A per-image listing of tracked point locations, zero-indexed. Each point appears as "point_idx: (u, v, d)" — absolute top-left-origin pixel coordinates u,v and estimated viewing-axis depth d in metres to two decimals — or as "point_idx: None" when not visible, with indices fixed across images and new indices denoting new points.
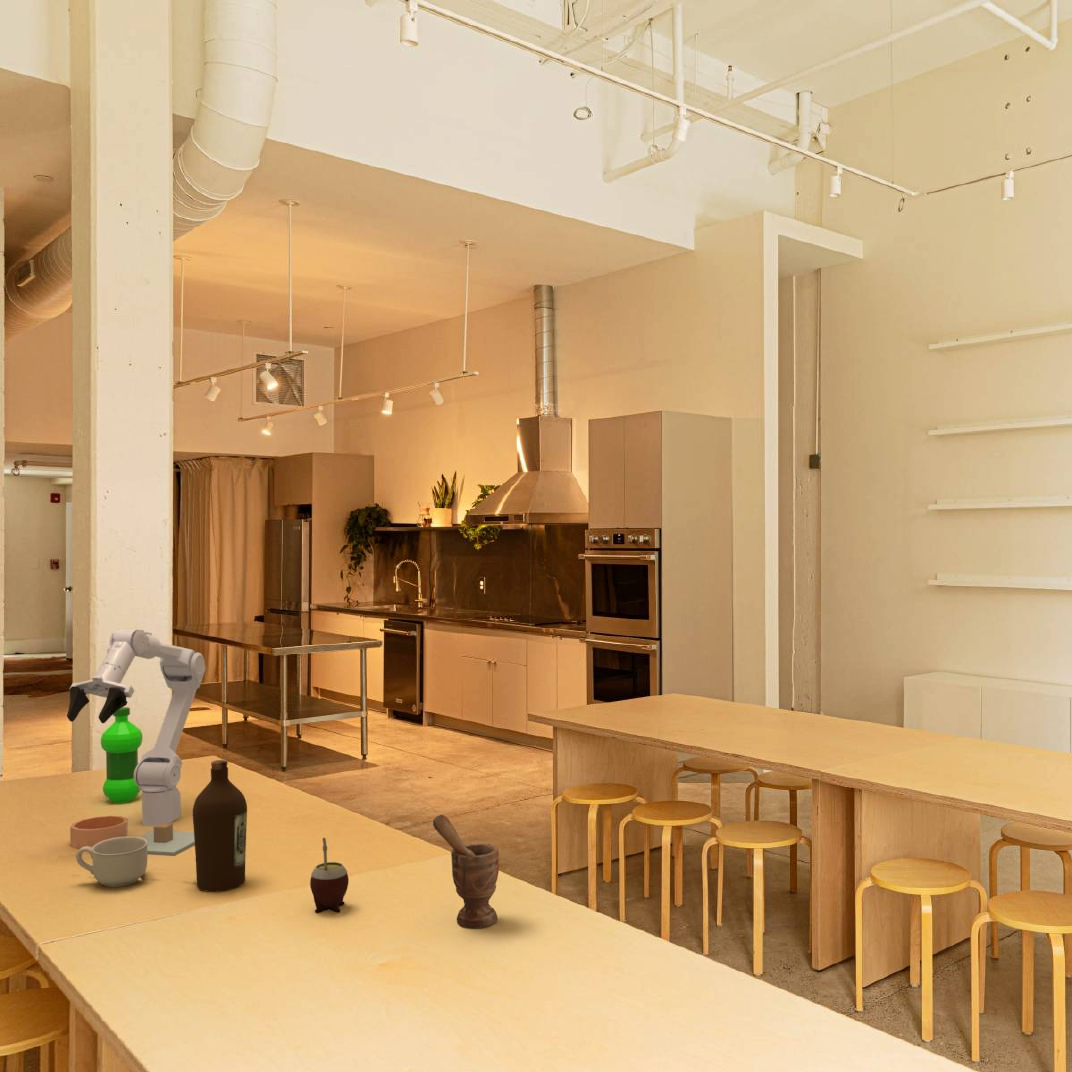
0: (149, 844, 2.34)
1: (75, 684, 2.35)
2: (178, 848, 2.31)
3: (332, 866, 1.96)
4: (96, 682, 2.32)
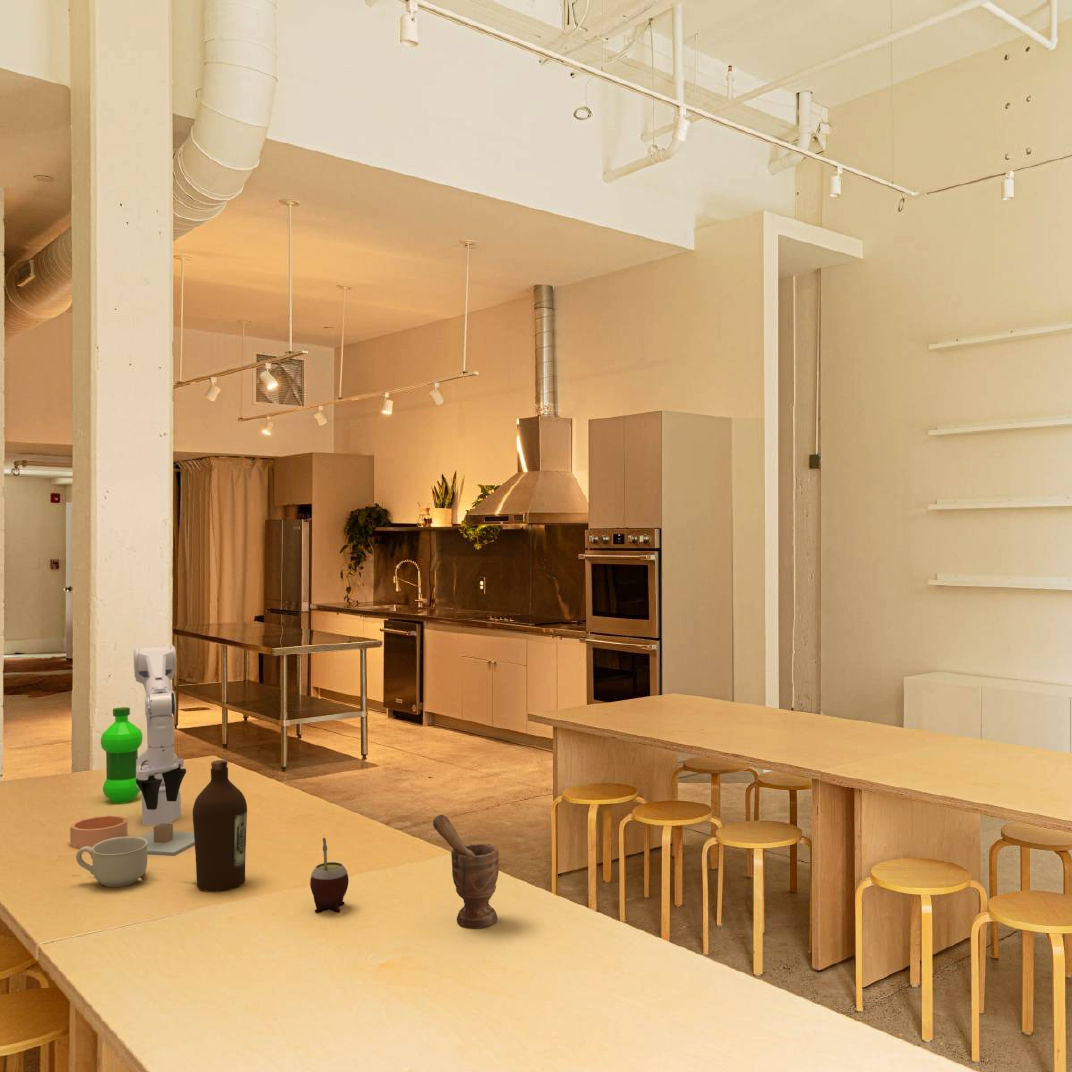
0: (149, 844, 2.34)
1: (148, 773, 2.30)
2: (178, 848, 2.31)
3: (332, 866, 1.96)
4: None
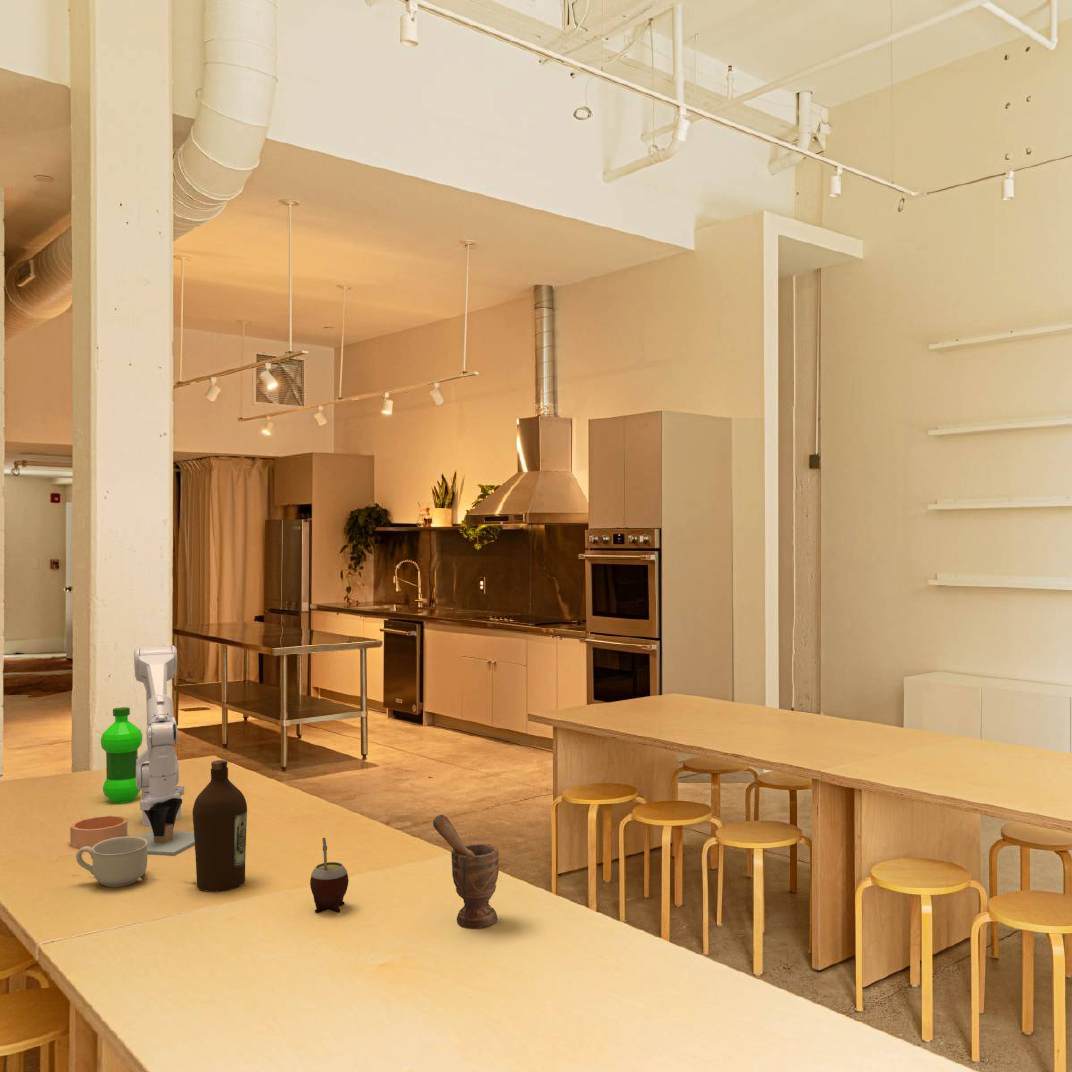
0: (149, 844, 2.34)
1: (150, 802, 2.31)
2: (178, 848, 2.31)
3: (332, 866, 1.96)
4: None
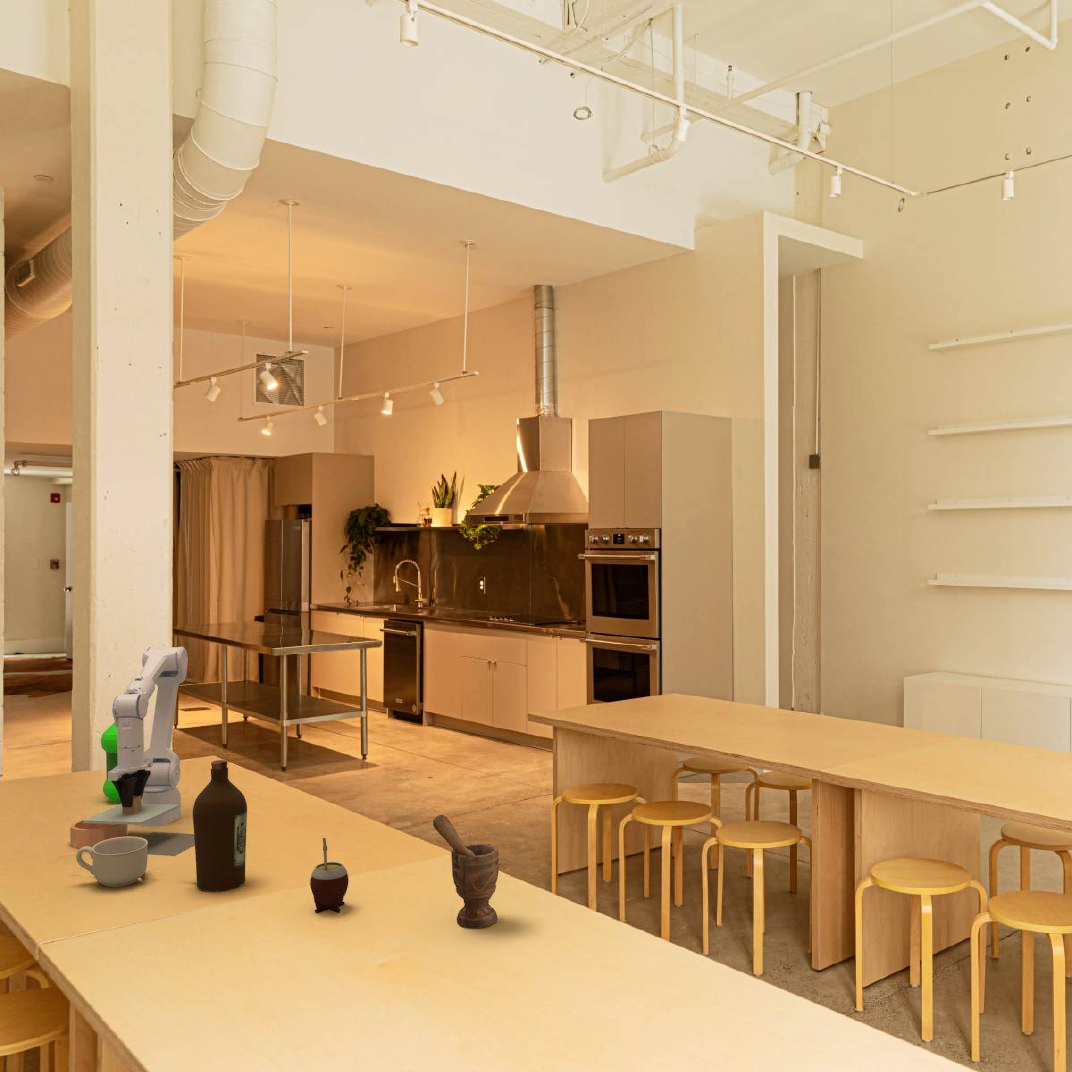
0: (118, 815, 2.35)
1: (118, 773, 2.32)
2: (146, 818, 2.32)
3: (332, 866, 1.96)
4: None
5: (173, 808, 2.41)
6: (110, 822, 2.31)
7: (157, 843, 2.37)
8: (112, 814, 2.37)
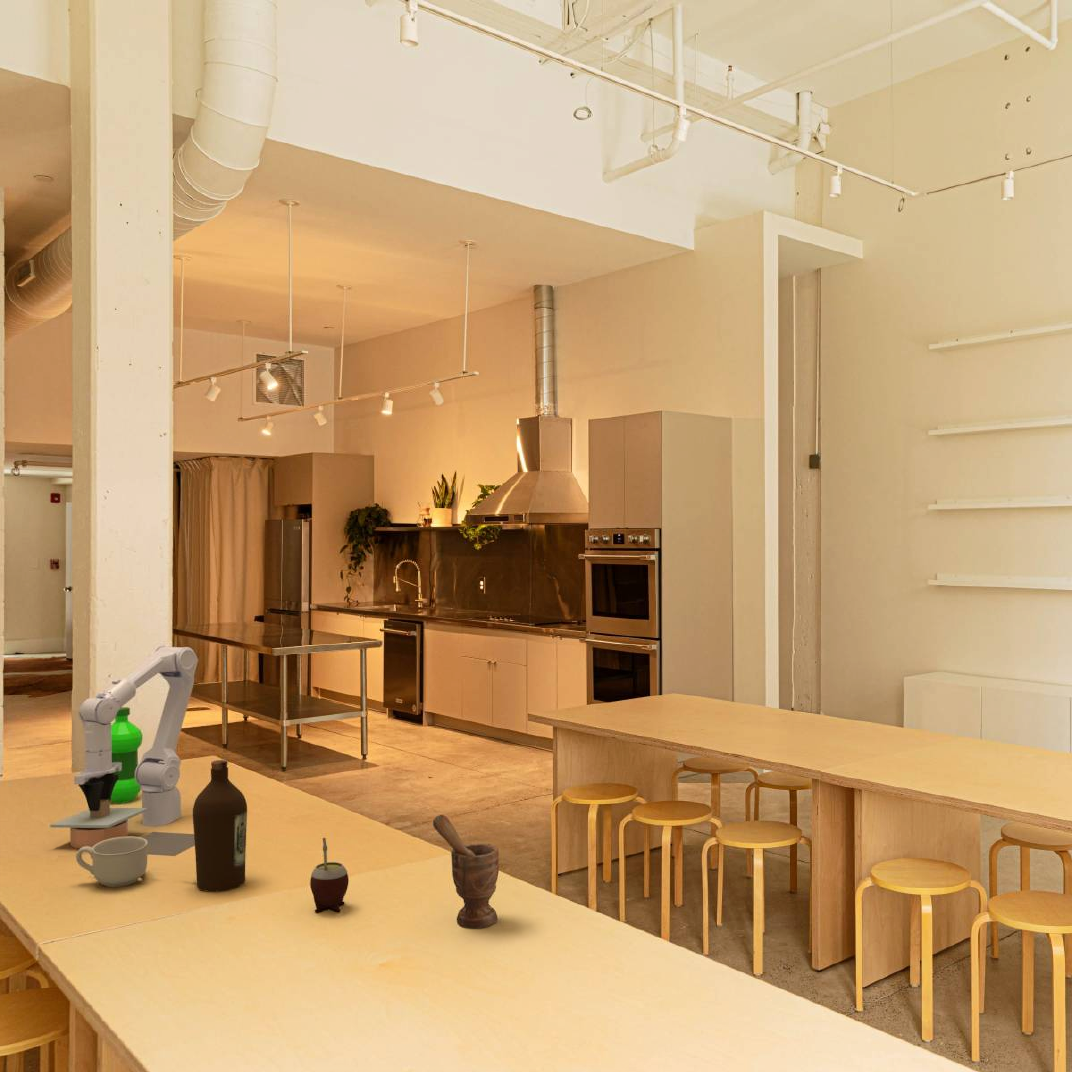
0: (85, 819, 2.37)
1: (84, 777, 2.33)
2: (113, 821, 2.33)
3: (332, 866, 1.96)
4: None
5: (141, 811, 2.43)
6: (77, 826, 2.32)
7: (157, 843, 2.37)
8: (80, 818, 2.38)
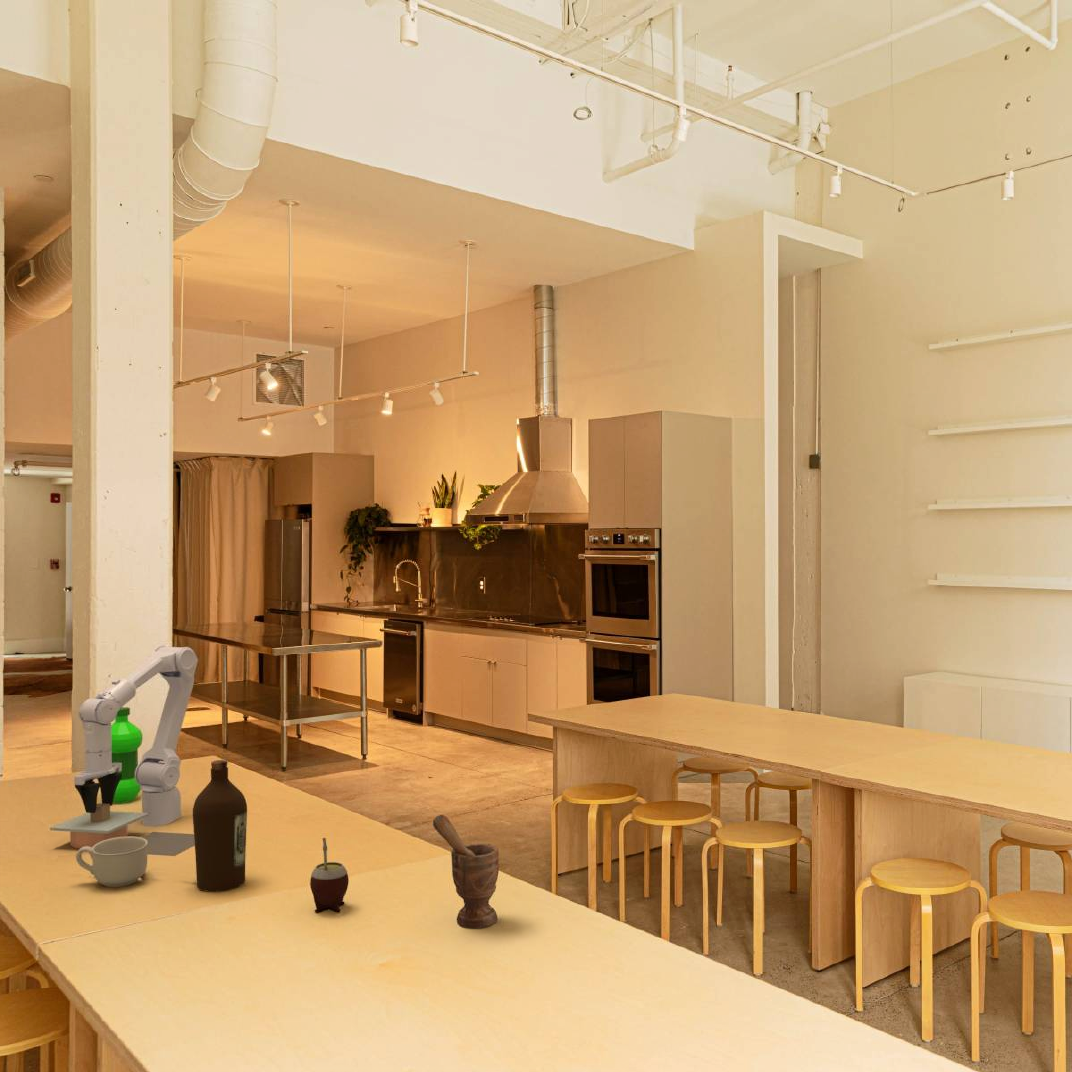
0: (85, 823, 2.37)
1: (84, 777, 2.33)
2: (113, 827, 2.33)
3: (332, 866, 1.96)
4: None
5: (141, 817, 2.43)
6: (77, 830, 2.32)
7: (157, 843, 2.37)
8: (80, 822, 2.38)
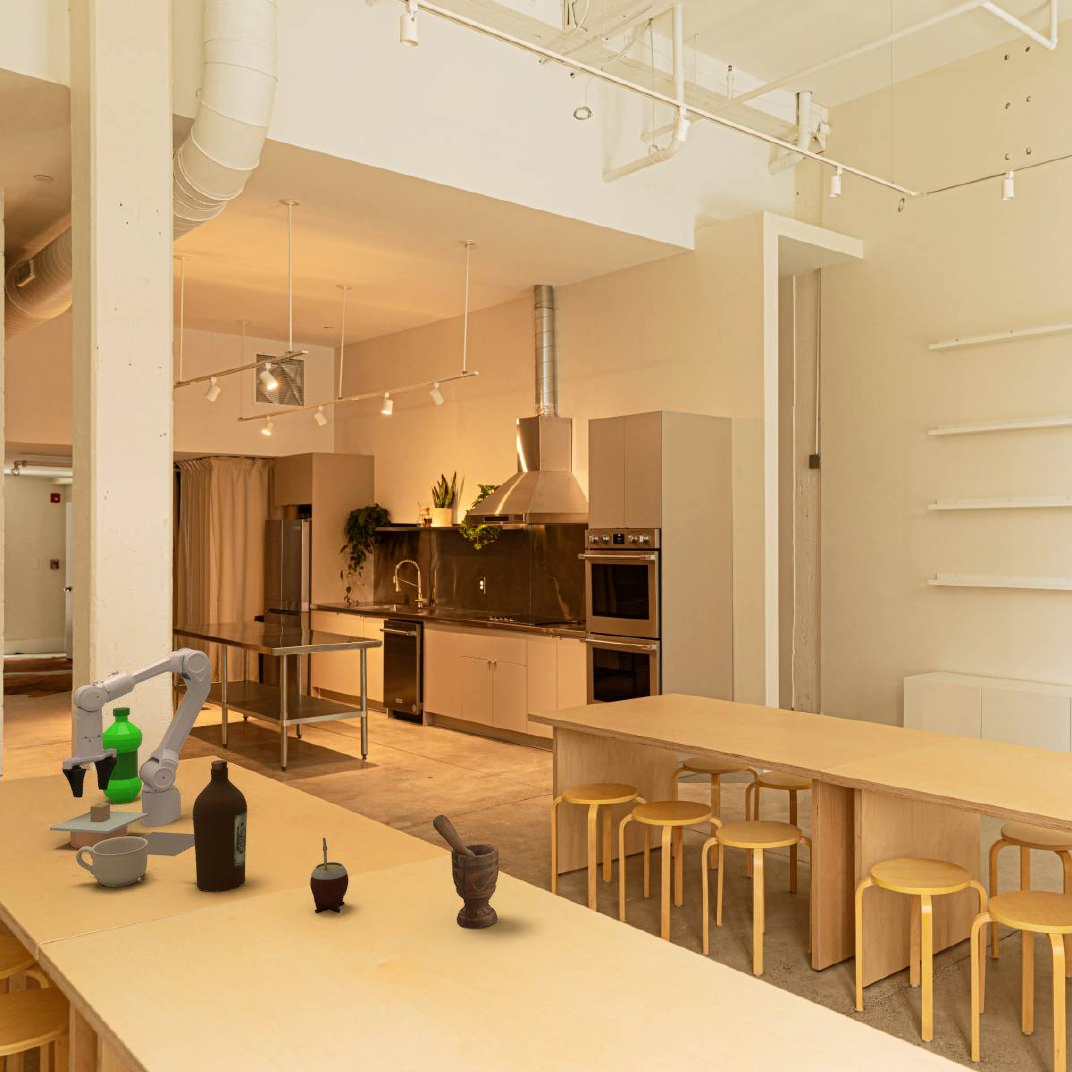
0: (85, 823, 2.37)
1: (72, 762, 2.40)
2: (113, 827, 2.33)
3: (332, 866, 1.96)
4: None
5: (141, 817, 2.43)
6: (77, 830, 2.32)
7: (157, 843, 2.37)
8: (80, 822, 2.38)
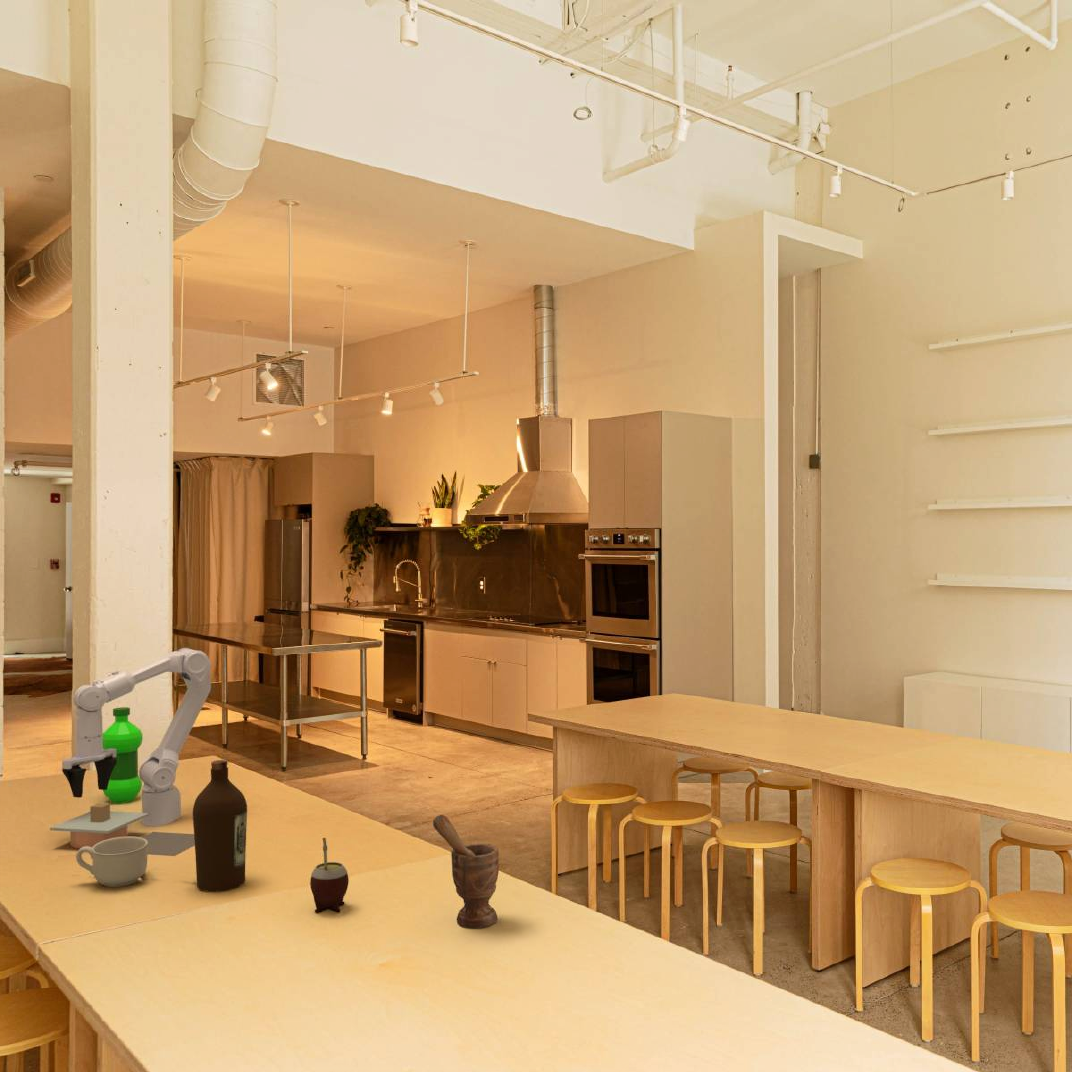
0: (85, 823, 2.37)
1: (71, 762, 2.40)
2: (113, 827, 2.33)
3: (332, 866, 1.96)
4: None
5: (141, 817, 2.43)
6: (77, 830, 2.32)
7: (157, 843, 2.37)
8: (80, 822, 2.38)
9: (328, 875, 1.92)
